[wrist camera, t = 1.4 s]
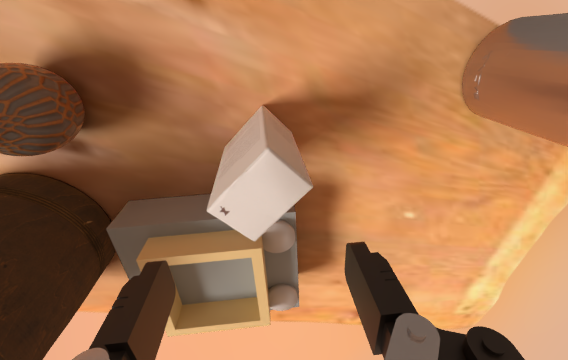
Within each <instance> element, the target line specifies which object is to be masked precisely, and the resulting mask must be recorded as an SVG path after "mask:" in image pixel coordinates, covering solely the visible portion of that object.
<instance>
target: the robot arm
mask: <svg viewBox="0 0 568 360" xmlns="http://www.w3.org/2000/svg"><path fill="white" fill-rule="evenodd" d="M462 90H463V97H464V100H465V103H466V104H467V106H468V108H469V109H470V110H471V111H472V112H474V113H475V114H477V115H479V116H481V117H484V118H487V119H490V120H493V121H496V122H499V123H501V124H504V125H507V126H510V127H512V128H515V129H518V130H521V131H524V132H527V133H530V134H533V135H535V136H538V137H541V138H544V139H547V140H550V141H553V142H556V143H559V144H561V145H564V146H567V147H568V13H565V14H553V15H542V16H530V17H521V18H518V19H514V20H510V21H509V22H507V23H505V24H503V25H501V26H499V27H498V28H496V29H495V30H494V31H492V32H491V33H490V34H489V35H488V36H487V37H486V38H485V39H484V40H483V41H482V42H481V43H480V44H479V46H478V47H477V48H476V50H475V51H474V52H473V54H472V56H471V58H470V60H469V62H468V64H467V66H466V69H465V72H464V76H463V83H462ZM345 276H346V281H347V284H348V286H349V289H350V292H351V295H352V297H353V300H354V303H355V306H356V308H357V311H358V314H359V317H360V319H361V322H362V325H363V328H364V330H365V333H366V336H367V339H368V341H369V344H370V347H371V350H372V352H373V354H374V355H379V354H382V355H383V357H384V360H525V359H524V358H523V357H522V356H521V354H520V353H519V352H518V350H517V349H516V348H515V346H514V345H513V344H512V343H511V342H510V341H509V340H508V339H507V338H506V337H504V336H503V335H502V334H500V333H498V332H496V331H495V330H492V329H490V328H486V327H479V326H478V327H473V328H471V329H470V330H469V331H468V333H467V335H465V334H460V333H455V332H450V331H445V330H441V329H439V328H436V327H435V326H434V325H433V324H432V323H431V322H430V321H429V320H427V319H426V318H424V317H422V316H420V315H419V314H418V313H417V311H416V309H415V308H414V306H413V304H412V302H411V301H410V299H409V297H408V296H407V294H406V292H405V290H404V289H403V287H402V285H401V284H400V282H399V280H398V279H397V277H396V275H395V273H394V272H393V270H392V268H391V266H390V265H389V263H388V261H387V260H386V259H385V258H384V257H382V256H381V255H380V254H379V253H378V252H376V253H370V251H369V249H368V247H367V245H366V244H365V242H355V243H347V245H346V257H345ZM175 294H176V287H175V283H174V280H173V277H172V274H171V271H170V268H169V265H168V263H167V261H166V260H163V261H153V262H147V263H146V264H145V265H144V267H143V269H142V271H141V273H140V275H137V276H133V277H132V278H131V279H130V280H129V281H128V282H127V283H126V284H125V285H124V286H123V288H122V290H121V291H120V293H119V295H118V297H117V300H116V301H115V302H114V304H113V306H112V310H110V311H109V313H108V315H107V317H106V319H105V321H104V322H103V324H102V326H101V328H100V330H99V331H98V333H97V335H96V337H95V339H94V341H93V342H92V344H91V346H90V348H89V349H88V350H86V351H84V352H83V353H81V354H79V355H78V356H76V357H75V358H74V359H72V360H155V358H156V355H157V352H158V349H159V346H160V343H161V340H162V337H163V334H164V330H165V327H166V324H167V321H168V318H169V315H170V312H171V309H172V306H173V303H174V300H175Z"/></svg>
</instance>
